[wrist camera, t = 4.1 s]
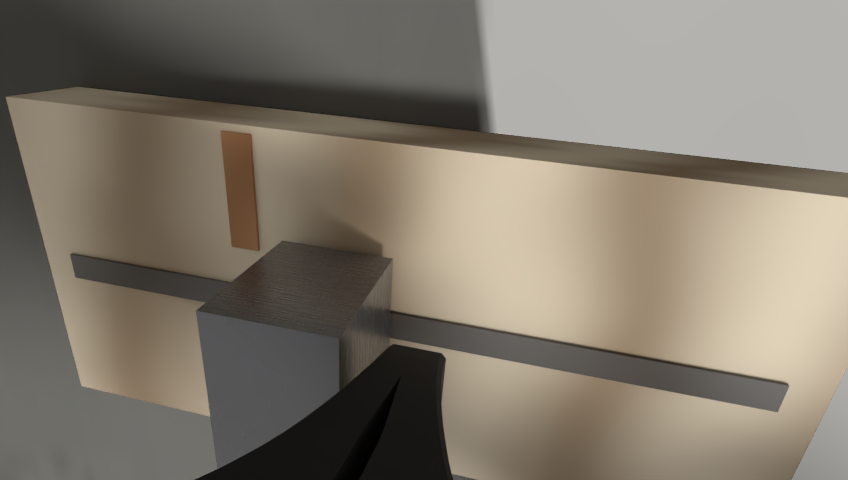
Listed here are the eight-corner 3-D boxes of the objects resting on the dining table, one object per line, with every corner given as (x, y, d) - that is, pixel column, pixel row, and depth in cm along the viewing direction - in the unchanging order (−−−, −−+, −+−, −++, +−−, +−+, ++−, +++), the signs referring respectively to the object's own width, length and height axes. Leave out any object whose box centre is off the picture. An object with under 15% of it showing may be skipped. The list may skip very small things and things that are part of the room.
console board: (860, 174, 12) (930, 208, 10) (730, 476, 16) (759, 549, 14) (78, 86, 16) (1, 97, 14) (131, 347, 20) (79, 387, 18)
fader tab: (393, 258, 13) (338, 338, 9) (386, 396, 14) (339, 503, 11) (282, 240, 13) (195, 310, 10) (289, 376, 15) (217, 472, 12)
